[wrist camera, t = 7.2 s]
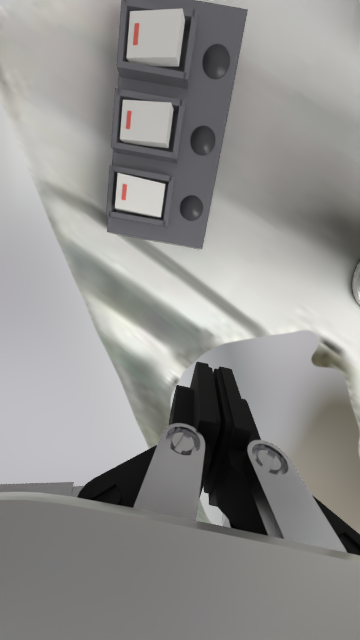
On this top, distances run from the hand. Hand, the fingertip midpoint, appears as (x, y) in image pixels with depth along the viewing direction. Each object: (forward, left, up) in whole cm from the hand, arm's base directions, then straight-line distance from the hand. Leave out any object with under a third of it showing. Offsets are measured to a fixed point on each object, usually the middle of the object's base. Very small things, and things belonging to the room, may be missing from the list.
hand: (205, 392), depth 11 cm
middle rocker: (+10, -20, -24) cm, 33 cm away
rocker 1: (+10, -28, -24) cm, 38 cm away
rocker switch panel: (+8, -20, -29) cm, 36 cm away
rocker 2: (+10, -12, -24) cm, 29 cm away
